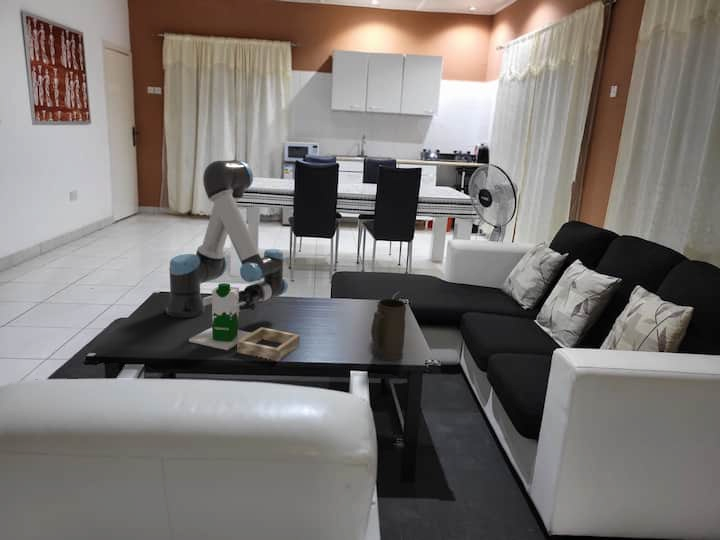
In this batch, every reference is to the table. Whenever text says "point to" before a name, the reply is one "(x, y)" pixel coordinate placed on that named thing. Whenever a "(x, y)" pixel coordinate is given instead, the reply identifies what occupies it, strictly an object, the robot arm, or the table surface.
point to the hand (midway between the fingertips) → (217, 305)
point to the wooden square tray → (276, 354)
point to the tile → (208, 340)
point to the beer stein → (389, 329)
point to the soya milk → (224, 312)
